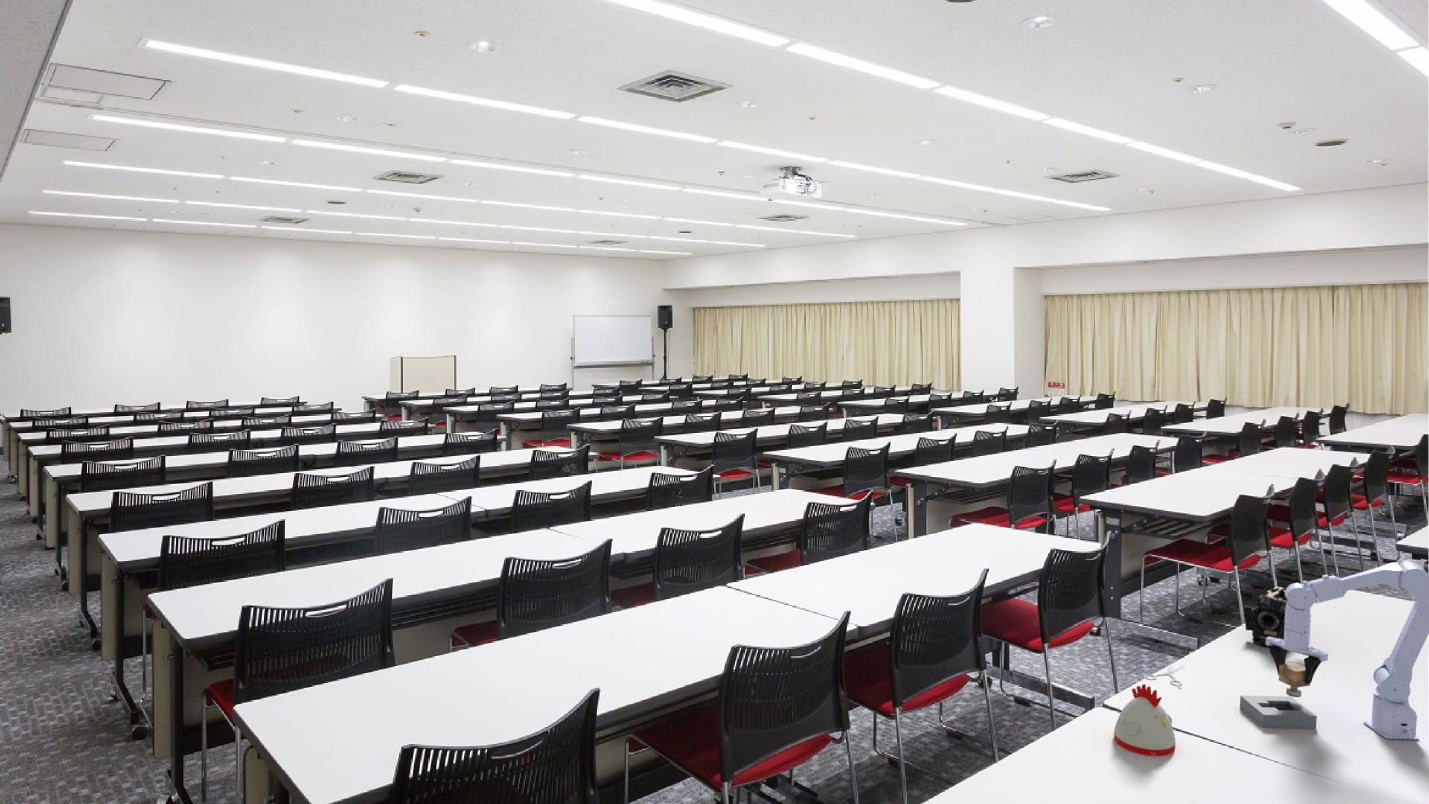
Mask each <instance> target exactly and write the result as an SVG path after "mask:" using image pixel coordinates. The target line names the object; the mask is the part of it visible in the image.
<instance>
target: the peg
mask: <svg viewBox="0 0 1429 804" xmlns="http://www.w3.org/2000/svg"><path fill="white" fill-rule="evenodd" d="M1278 681H1279V682H1281V683H1283V684H1286V685H1288V686H1290V687H1286V689H1285V690H1286V692H1285V694H1286V696H1291V697H1292V698H1301V697H1302V690H1301V689H1299V688H1302V687H1309V686H1311V683H1309V684H1306V683H1305V665H1304V666H1303V665H1301V664H1299V663H1296V662H1290V663H1289V662H1288V663H1285V664H1281V665H1280V666H1279V675H1278Z"/></svg>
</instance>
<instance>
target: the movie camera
mask: <svg viewBox="0 0 1429 804" xmlns="http://www.w3.org/2000/svg"><path fill="white" fill-rule="evenodd" d="M1286 589H1287V587H1286V588H1285V587H1281V586H1274V587H1273V589H1270V590H1267V591H1266V592H1265V593H1266V594H1265V595H1264V594H1260V595H1259V596H1257V601H1256V607H1252V606H1249V605H1244V608H1243V617H1244V623H1245V631H1251V632H1252V633H1251V635H1252V642H1253V643H1255V644H1256V645H1259V646H1262V647H1267V648H1271V647H1272V646H1268V645H1266V638H1267V637H1273V638H1278V639H1283V640H1284V629H1285V611H1286V604H1287V601H1288V600H1287V598H1286V596H1285V591H1286ZM1257 639H1259V640H1260V641H1259V642H1258V640H1257Z"/></svg>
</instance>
